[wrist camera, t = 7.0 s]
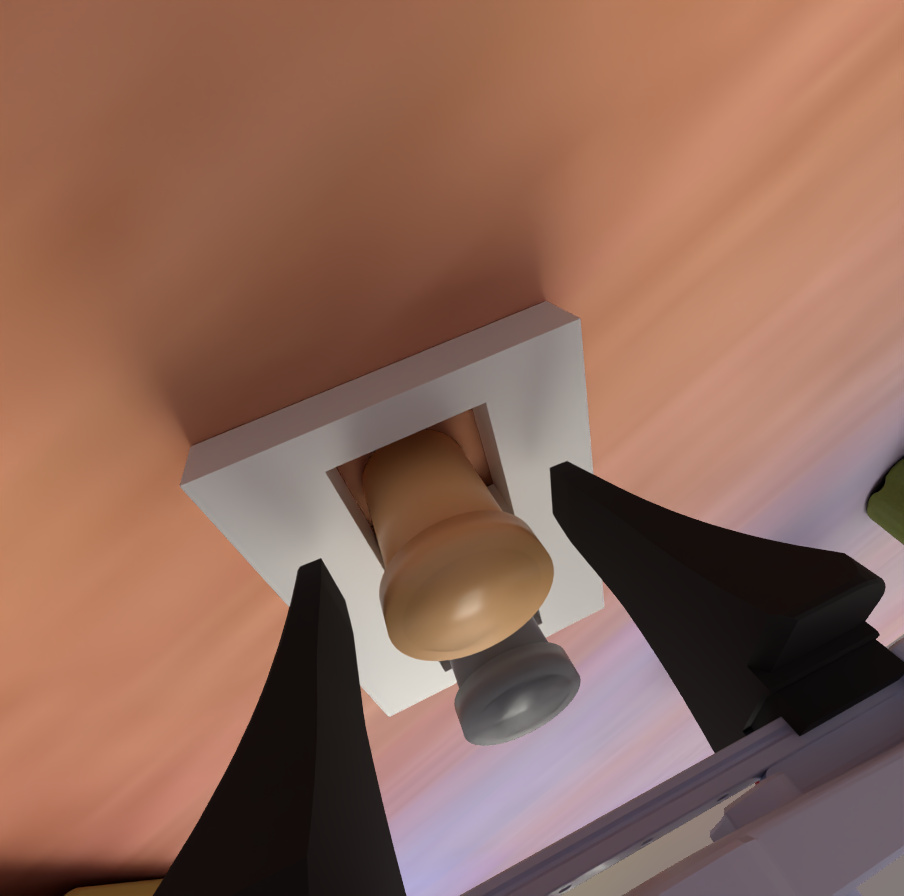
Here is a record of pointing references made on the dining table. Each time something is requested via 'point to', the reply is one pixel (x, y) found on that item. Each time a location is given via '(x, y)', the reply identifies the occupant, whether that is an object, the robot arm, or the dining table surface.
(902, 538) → the plant pot
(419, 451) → the tan rubber stopper
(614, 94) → the dining table surface
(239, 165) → the dining table surface
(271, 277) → the dining table surface
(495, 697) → the charcoal flared cup
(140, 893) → the plastic component
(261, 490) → the housing
